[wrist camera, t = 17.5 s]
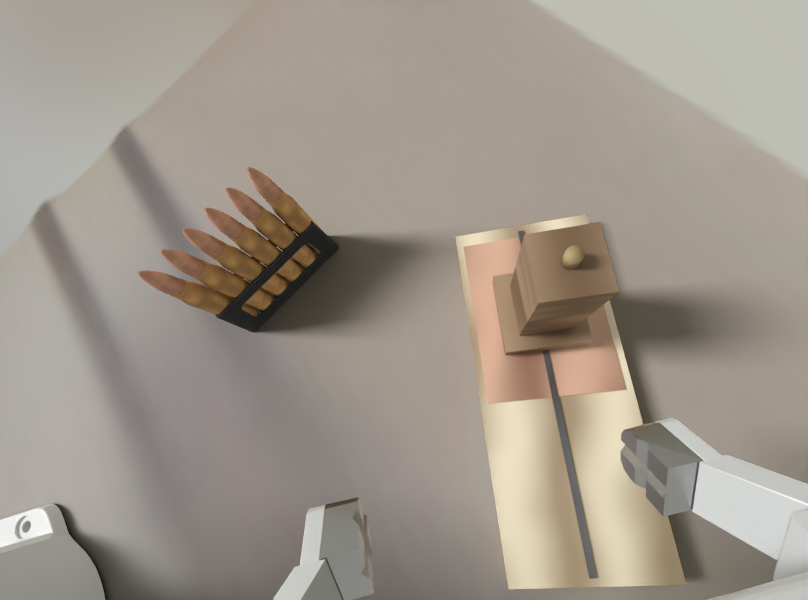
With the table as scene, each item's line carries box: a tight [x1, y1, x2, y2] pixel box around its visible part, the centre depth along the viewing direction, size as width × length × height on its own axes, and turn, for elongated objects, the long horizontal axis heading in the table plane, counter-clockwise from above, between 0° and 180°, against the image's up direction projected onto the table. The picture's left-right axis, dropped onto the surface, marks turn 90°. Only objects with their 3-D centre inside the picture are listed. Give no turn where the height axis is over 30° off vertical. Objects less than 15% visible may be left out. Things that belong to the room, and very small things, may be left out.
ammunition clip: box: [138, 167, 338, 332], centre depth 28 cm, size 11×2×12 cm, turn 135°
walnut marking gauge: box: [492, 222, 620, 355], centre depth 22 cm, size 6×6×11 cm
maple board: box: [455, 214, 687, 589], centre depth 26 cm, size 10×24×2 cm, turn 6°
